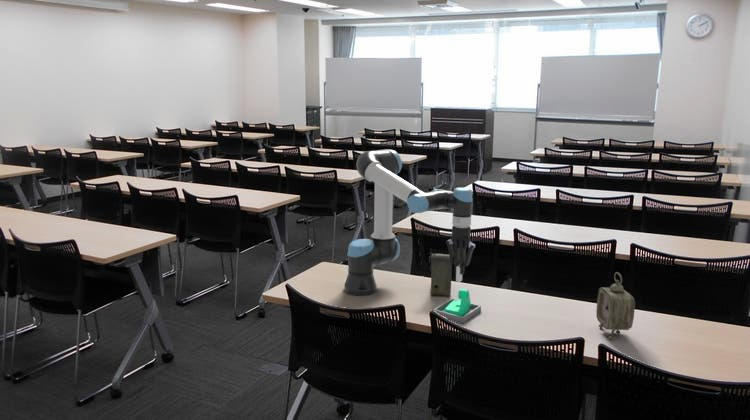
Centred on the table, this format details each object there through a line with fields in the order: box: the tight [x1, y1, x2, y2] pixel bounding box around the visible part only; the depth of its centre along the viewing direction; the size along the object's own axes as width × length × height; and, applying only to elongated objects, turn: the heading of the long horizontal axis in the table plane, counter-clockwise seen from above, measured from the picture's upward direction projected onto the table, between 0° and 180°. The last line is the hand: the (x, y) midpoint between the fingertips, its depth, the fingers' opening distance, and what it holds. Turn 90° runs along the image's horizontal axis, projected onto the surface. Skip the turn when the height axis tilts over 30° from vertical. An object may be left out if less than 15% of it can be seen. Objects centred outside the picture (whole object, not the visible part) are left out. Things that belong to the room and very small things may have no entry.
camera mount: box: [445, 288, 472, 316], centre depth 237 cm, size 12×8×10 cm, turn 154°
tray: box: [432, 298, 482, 324], centre depth 238 cm, size 14×16×2 cm
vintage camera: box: [430, 252, 453, 297], centre depth 262 cm, size 10×16×20 cm, turn 174°
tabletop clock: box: [595, 271, 636, 340], centre depth 217 cm, size 14×9×25 cm, turn 178°
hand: (458, 280), depth 235 cm, fingers closed
